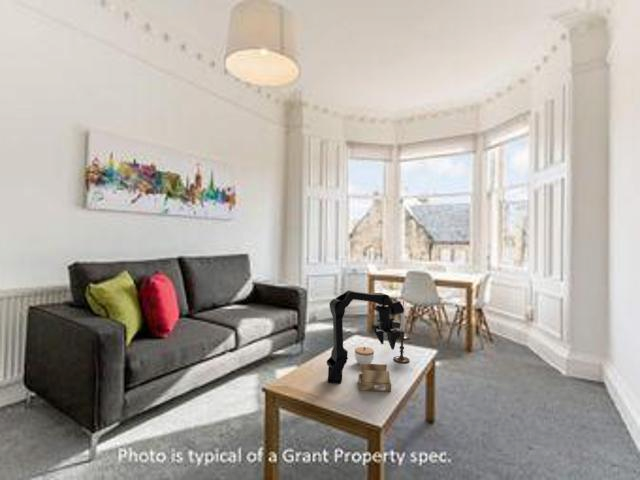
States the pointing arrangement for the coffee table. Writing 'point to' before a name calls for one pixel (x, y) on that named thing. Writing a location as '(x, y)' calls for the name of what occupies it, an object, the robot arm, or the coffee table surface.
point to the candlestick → (403, 337)
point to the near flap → (375, 376)
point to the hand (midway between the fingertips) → (387, 346)
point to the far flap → (373, 367)
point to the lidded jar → (364, 355)
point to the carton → (373, 385)
